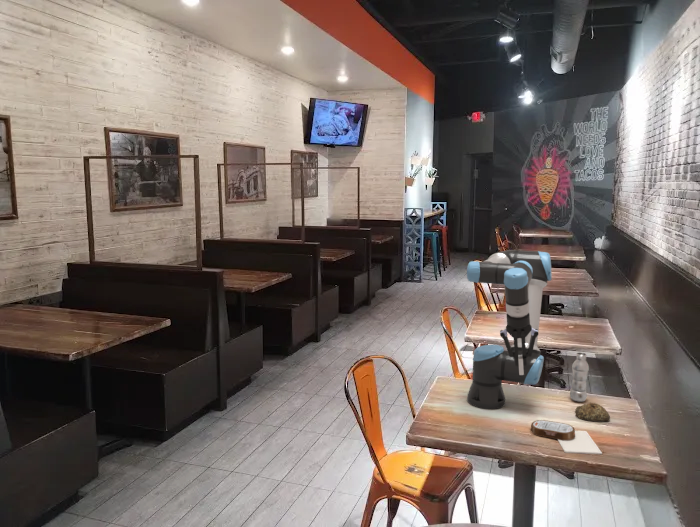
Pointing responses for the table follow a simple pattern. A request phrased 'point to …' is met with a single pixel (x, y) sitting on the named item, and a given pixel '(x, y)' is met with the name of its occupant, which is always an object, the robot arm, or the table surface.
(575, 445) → the rubber mat
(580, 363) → the plastic bottle
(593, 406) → the mossy rock
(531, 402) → the table surface
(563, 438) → the tin
